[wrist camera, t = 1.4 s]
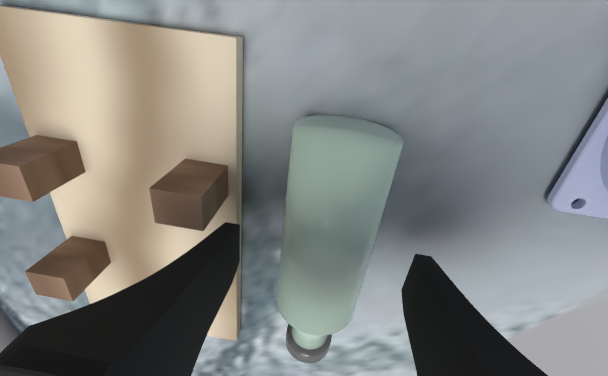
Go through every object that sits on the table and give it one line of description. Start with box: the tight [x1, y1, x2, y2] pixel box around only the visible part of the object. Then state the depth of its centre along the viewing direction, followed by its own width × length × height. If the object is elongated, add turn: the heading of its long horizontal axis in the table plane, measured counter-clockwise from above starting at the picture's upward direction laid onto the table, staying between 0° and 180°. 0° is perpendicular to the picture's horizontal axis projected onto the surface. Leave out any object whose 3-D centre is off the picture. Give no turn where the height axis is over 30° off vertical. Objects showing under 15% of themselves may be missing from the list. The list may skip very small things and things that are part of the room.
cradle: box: [0, 5, 243, 341], centre depth 15 cm, size 10×18×4 cm, turn 174°
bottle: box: [277, 115, 403, 363], centre depth 14 cm, size 4×12×4 cm, turn 174°
